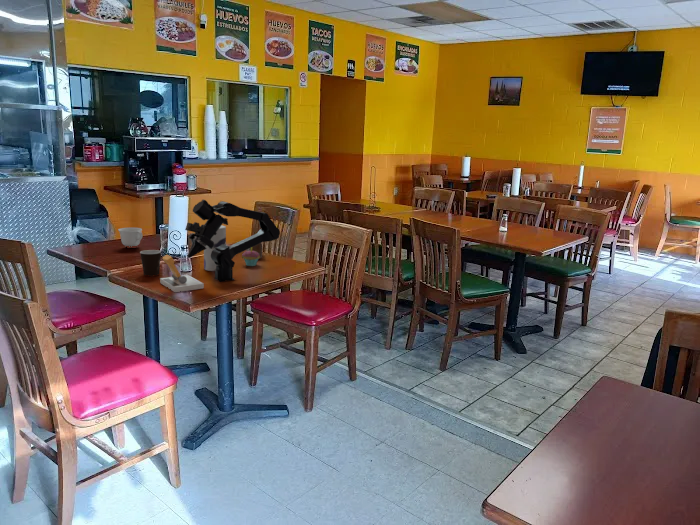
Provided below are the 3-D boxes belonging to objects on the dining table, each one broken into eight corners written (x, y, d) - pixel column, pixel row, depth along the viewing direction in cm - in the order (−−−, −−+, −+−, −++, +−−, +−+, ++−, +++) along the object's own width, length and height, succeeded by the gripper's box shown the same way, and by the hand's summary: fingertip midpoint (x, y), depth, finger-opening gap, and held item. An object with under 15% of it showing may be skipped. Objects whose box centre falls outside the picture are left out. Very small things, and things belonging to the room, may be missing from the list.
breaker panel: (188, 279, 238) (187, 268, 237) (203, 288, 226) (203, 276, 225) (160, 283, 231) (160, 271, 230) (174, 292, 219) (174, 280, 218)
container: (218, 272, 252) (218, 228, 248) (199, 269, 255) (198, 226, 251) (230, 267, 261) (229, 225, 257) (211, 265, 265) (211, 223, 260)
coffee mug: (155, 277, 239) (154, 254, 237) (137, 275, 241) (136, 253, 239) (169, 271, 251) (168, 249, 248) (151, 269, 252) (150, 248, 250)
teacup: (132, 251, 286) (131, 232, 284) (114, 248, 293) (113, 229, 291) (151, 248, 296) (151, 229, 294) (133, 244, 303) (132, 226, 301)
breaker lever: (179, 275, 230) (167, 254, 225) (184, 278, 226) (171, 257, 221) (174, 279, 229) (161, 257, 224) (179, 281, 225) (166, 260, 220)
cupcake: (261, 266, 266) (261, 242, 264) (243, 267, 263) (243, 242, 260) (257, 262, 274) (257, 238, 271) (240, 263, 271) (240, 239, 268)
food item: (244, 253, 294) (244, 235, 292) (259, 252, 297) (259, 234, 294) (249, 259, 281) (249, 239, 279) (264, 258, 284) (265, 239, 282)
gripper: (189, 214, 236) (167, 243, 232) (202, 215, 220) (178, 247, 216) (210, 230, 241) (188, 259, 237) (224, 232, 225) (200, 263, 221)
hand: (188, 257), depth 228 cm, fingers closed
